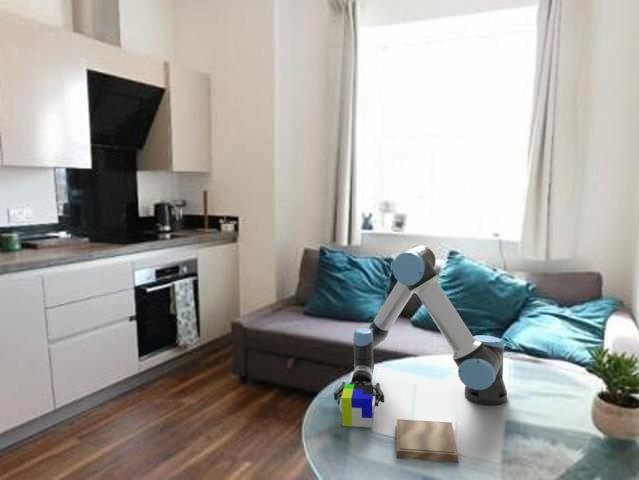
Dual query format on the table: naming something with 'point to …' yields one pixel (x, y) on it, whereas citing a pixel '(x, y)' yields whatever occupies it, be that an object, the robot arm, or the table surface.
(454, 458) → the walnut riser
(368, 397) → the puzzle toy
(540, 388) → the table surface
